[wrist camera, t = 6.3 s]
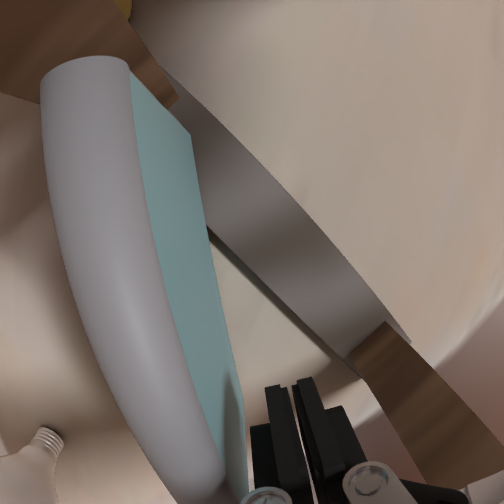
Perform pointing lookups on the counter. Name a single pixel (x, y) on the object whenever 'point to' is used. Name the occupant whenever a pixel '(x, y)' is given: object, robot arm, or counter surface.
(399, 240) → the counter surface
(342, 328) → the gate frame
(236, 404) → the gate
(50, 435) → the lightbulb
